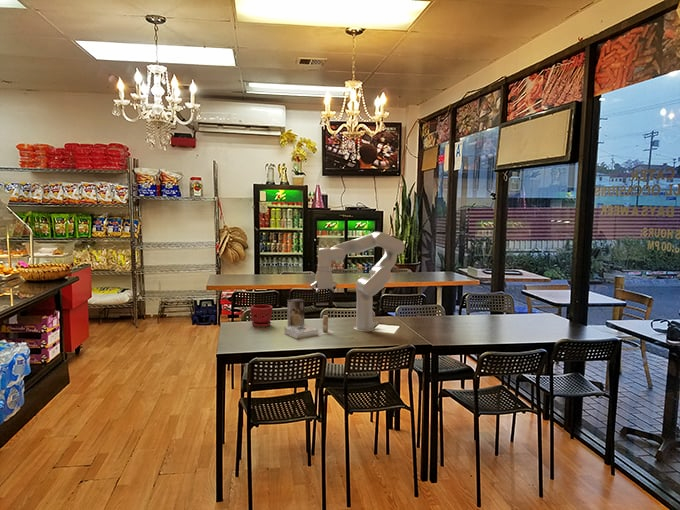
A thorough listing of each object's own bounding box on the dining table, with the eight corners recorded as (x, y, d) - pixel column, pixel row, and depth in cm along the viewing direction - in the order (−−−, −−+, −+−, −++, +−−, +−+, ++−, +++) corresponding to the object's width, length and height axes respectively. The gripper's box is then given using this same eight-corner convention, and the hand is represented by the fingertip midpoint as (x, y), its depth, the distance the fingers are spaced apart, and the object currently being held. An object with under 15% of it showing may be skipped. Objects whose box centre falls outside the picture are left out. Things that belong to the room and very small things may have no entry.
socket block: (305, 329, 278) (305, 324, 278) (317, 335, 267) (318, 329, 266) (284, 333, 270) (284, 327, 270) (296, 339, 259) (296, 333, 258)
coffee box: (301, 324, 292) (301, 298, 290) (304, 326, 286) (304, 300, 284) (287, 325, 288) (287, 299, 287) (289, 327, 282) (290, 301, 281)
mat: (326, 329, 281) (326, 328, 281) (336, 332, 273) (336, 332, 273) (312, 331, 275) (312, 330, 275) (321, 335, 267) (321, 334, 267)
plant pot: (274, 327, 283) (274, 307, 282) (252, 328, 278) (253, 308, 277) (269, 321, 295) (269, 303, 294) (248, 323, 290) (248, 304, 289)
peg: (325, 330, 275) (326, 315, 274) (328, 332, 273) (329, 316, 272) (321, 331, 274) (321, 315, 273) (324, 332, 271) (324, 316, 270)
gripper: (334, 267, 278) (333, 296, 280) (308, 269, 269) (307, 298, 271) (340, 269, 272) (339, 298, 273) (314, 270, 263) (313, 300, 264)
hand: (323, 298), depth 272 cm, fingers open, 9 cm apart
